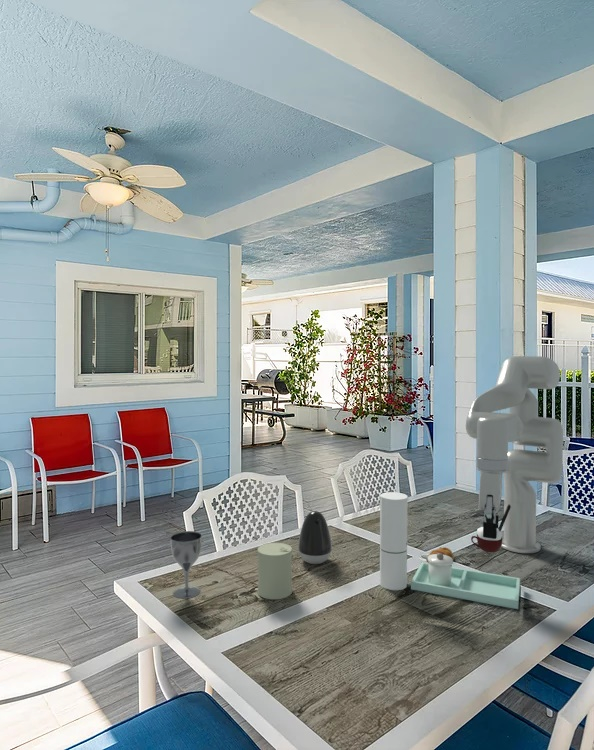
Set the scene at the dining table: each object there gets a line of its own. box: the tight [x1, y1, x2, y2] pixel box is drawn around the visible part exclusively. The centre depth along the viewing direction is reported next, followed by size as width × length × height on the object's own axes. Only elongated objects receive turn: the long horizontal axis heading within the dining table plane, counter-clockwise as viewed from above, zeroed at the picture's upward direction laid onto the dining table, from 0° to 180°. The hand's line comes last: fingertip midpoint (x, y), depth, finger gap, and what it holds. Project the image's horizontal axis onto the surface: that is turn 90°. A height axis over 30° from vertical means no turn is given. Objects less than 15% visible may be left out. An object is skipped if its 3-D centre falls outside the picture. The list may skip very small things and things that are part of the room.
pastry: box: [425, 547, 456, 563], centre depth 158 cm, size 9×7×4 cm
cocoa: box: [470, 504, 511, 554], centre depth 136 cm, size 10×6×12 cm, turn 56°
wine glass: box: [170, 530, 203, 600], centre depth 138 cm, size 8×8×15 cm
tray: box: [410, 561, 521, 610], centre depth 139 cm, size 14×26×3 cm, turn 66°
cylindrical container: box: [379, 491, 408, 591], centre depth 140 cm, size 7×7×25 cm
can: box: [256, 542, 293, 600], centre depth 139 cm, size 9×9×12 cm
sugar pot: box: [427, 553, 454, 587], centre depth 142 cm, size 7×7×8 cm
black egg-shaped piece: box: [297, 510, 333, 565], centre depth 159 cm, size 10×10×15 cm
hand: (490, 533), depth 136 cm, fingers closed on cocoa, 5 cm apart
